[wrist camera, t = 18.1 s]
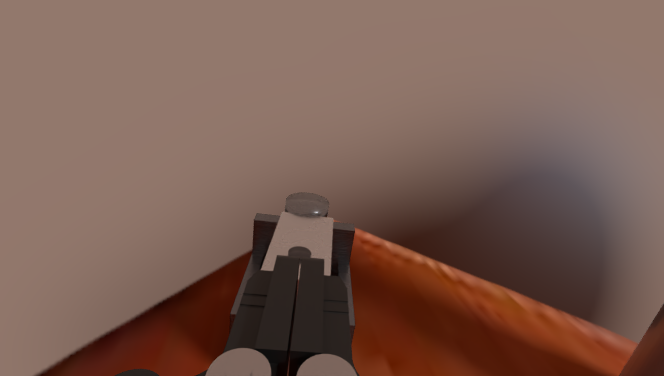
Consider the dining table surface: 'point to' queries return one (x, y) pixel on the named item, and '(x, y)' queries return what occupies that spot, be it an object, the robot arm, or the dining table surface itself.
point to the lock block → (301, 240)
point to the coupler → (340, 245)
